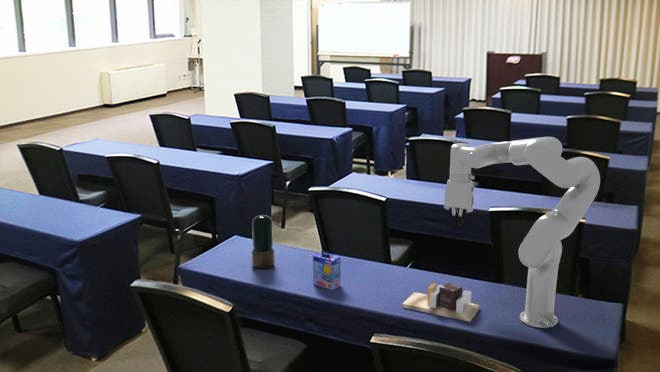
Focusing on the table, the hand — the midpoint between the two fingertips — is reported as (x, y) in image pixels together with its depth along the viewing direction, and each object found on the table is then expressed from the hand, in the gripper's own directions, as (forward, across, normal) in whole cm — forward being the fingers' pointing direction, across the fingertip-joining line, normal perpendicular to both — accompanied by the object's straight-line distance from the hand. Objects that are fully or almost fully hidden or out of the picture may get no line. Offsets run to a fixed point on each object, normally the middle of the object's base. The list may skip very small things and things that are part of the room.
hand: (457, 225), depth 250 cm
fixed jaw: (+26, -8, +15) cm, 31 cm away
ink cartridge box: (+27, +46, +16) cm, 56 cm away
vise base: (+27, 0, +15) cm, 31 cm away
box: (+26, -3, +15) cm, 30 cm away
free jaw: (+25, +2, +15) cm, 30 cm away
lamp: (+27, +80, +9) cm, 85 cm away
